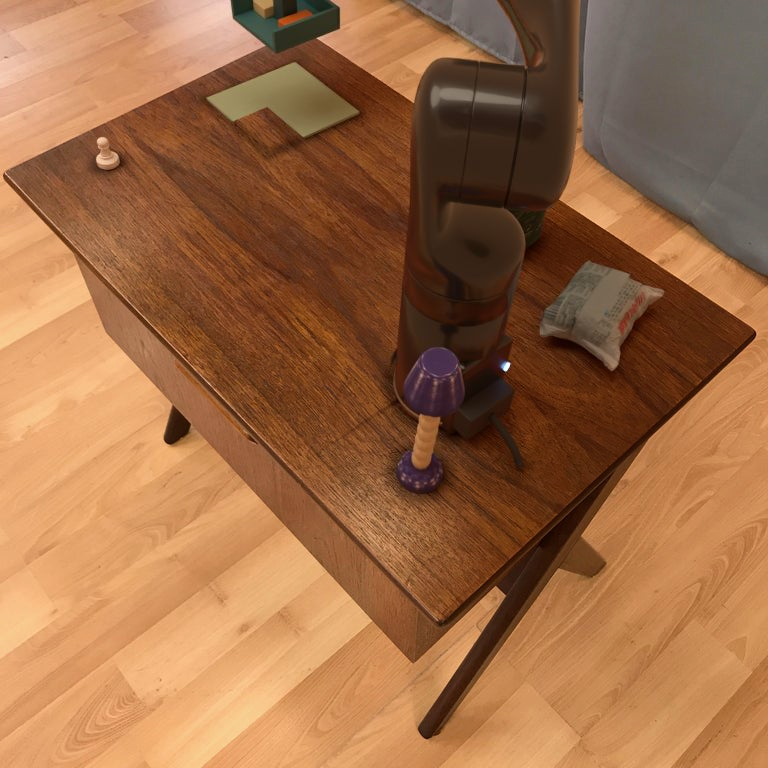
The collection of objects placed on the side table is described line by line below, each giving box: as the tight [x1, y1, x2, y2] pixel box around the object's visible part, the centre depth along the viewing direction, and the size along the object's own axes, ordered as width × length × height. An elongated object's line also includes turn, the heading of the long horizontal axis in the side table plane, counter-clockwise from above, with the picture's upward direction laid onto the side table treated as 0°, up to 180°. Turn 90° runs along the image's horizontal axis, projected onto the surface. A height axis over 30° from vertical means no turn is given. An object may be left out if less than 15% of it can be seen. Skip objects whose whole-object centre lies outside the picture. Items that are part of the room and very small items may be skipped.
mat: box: [206, 61, 360, 139], centre depth 102 cm, size 14×14×1 cm
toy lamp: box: [395, 347, 465, 494], centre depth 64 cm, size 5×5×17 cm
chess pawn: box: [95, 136, 121, 171], centre depth 93 cm, size 3×3×4 cm
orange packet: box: [278, 9, 313, 28], centre depth 91 cm, size 2×4×1 cm, turn 129°
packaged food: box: [538, 260, 665, 372], centre depth 80 cm, size 9×12×5 cm
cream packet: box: [253, 0, 274, 19], centre depth 93 cm, size 2×4×1 cm, turn 129°
